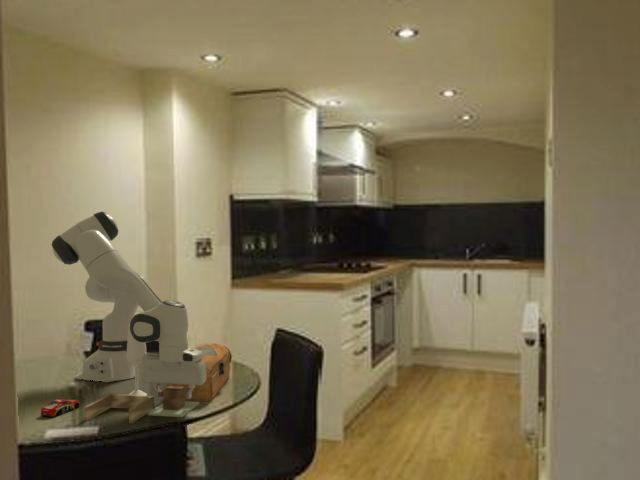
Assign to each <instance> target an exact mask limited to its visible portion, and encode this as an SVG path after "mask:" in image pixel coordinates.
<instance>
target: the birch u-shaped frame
mask: <svg viewBox="0 0 640 480" xmlns="http://www.w3.org/2000/svg"><path fill="white" fill-rule="evenodd" d="M111 408H114V409H128V424H134V423H135V422H137V421H138V420H139V419H142V417H144V416H145V415H148V413H149V412H150V411H152V410H153V409H155V396H154V395H146V396H143V395H128V394H121V393H120V394H119V393H118V394H117V393H108V394H107V395H105V396H103V397H101V398H99V399H97V400H95V401H94V402H92V403H91V402H90V403H89V404H88V405H86V406H84V421H86V422H88V421H90V420H91V419H94V418H95V417H97V416H99V415H100V414H102V413H104V412H105V411H108V410H109V409H111Z"/></svg>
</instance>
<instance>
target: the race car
mask: <svg viewBox="0 0 640 480" xmlns="http://www.w3.org/2000/svg"><path fill="white" fill-rule="evenodd" d="M79 408H80V402H79V400H77V399H61V398H60V399H59V398H58V399H55V400H52V401H50V402H48V403H47V404H45V405H44V406H43V407H41V410H40V411H41V412H40V416H41V417H59V416H61V415H64V414H66V413H68V412H71V411H73V410H78V409H79Z"/></svg>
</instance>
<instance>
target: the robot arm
mask: <svg viewBox="0 0 640 480" xmlns="http://www.w3.org/2000/svg"><path fill="white" fill-rule="evenodd" d="M118 228H119V227H118V223H117V222H116V219H115V218H114V217H113V216H112V215H110V214H108V213H107V212H106V211H99V212H96V213H93V215H91V216H89V217H86V218H85V219H83V220H80V221H79V222H77V223H76V224H75V225H73V226H71V227H70V228H68V229H66V230H65V231H64V232H63V233H62V234H60V235H57V236H56V237H55V238H54V239H53V240H52V243H51V246H52V252H53V254H54V257H55V258H56V259H57V260H58V261H60V262H61V263H63V265H68V266H69V265H73V264H77V263H78V261H80V263H81V264H82V267H84V269H85V271H86V272H87V274H88V276H89V277H88V278H87V280H86V283H85V285H84V286H85V288H84V289H85V290H84V291H85V294H86V295H87V297H88V298H89V299H90V300H93V301H96V302H100V303H110V304H112V303H114V305H113V308H112V309H113V310H112V312H110V313H109V314H106V316H105V317H103V320H102V339H101V340H99V341H97V342H96V346H98V349H97V350H96V351H94V353H92V354H91V355H89V356H88V357H87V358H86V359H85V360H84V362H83V364H82V370H81V372H79V373H77V374H76V375H75V379H76V380H82V379H83V380H84V381H90V380H91V381H92V380H93V381H92V382H99V381H102V382H101V383H110V382H114V381H115V382H116V381H123V380H125V381H126V380H129V379H133V378H135V367H134V366H133V365H131V364H130V363H129V362H128V361H127V359H126V353H127V342H128V330H129V324H130V332H131V335H132V336H133V338H134V339H135V340H136V341H138V342H146V343H150V342H154V341H155V342H158V349H159V350H158V352H147V354H145V355H144V356H143V363H142V366H143V367H142V370H141V371H142V372H141V380H142V381H143V383H144V384H145V383H146V384H152V387H153V388H154V390H155V392H156V398H163V389H161V388H160V385H161V384H165V385H167V384H186V385H188V387H189V388H190V390H189V392H187V393H185V398H186V399H191V398H192V391H193V390H194V388H195V385H202V384H203V383H204V382H205V381H206V378H207V376H206V366H205V362H204V361H203V360H202V359H201V358H203V352H202V351H200V350H197V349H194V348H195V347H191V346H189V340H188V332H189V316H188V311H187V307H186V305H185V304H184V303H182V302H180V301H178V300H177V301H176V300H164V301H162V300H161V299H160V297H158V295H157V294H156V293H155V292H154V291H153V290H152V288H151V286H150V282H149V280H148V279H147V278H146V277H145V276H142V275H139V274H138V273H137V272H136V271H135V270H134V269H133V268H132V267H131V266H130V265H129V263H128V262H127V261H126V260H125V259H124V258H123V256H122V255H121V253H119V251H118V250H117V248H116V246H114V245H113V243H112V242H111V241H113V240H115V239H116V237H118V234H119V229H118ZM138 308H141V310H142V312H139V313H137V314H136V312H137V310H138ZM146 355H147V356H146ZM83 380H82V381H83Z"/></svg>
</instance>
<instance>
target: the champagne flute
mask: <svg viewBox="0 0 640 480" xmlns="http://www.w3.org/2000/svg"><path fill="white" fill-rule="evenodd" d="M146 343H147V342H138V341H136V340H135V339H134V338H133V336H132V335H131V332H130V324H129V330H128V342H127V353H126V359H127V361H128V362H129V363H130V364H131V365H133V366H134V367H135V377H134V390H132V391H131V392H130V393H128V394H127V395H143V396H148V393H147V392H145V391H142V390H140V389H139V388H140V383H139V381H140V379H139V378H140V377H139V376H140V375H139V367H140V366H141V365H143V356H144V355H145V354H147V353H148V352H147V344H146ZM146 356H147V355H146Z"/></svg>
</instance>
